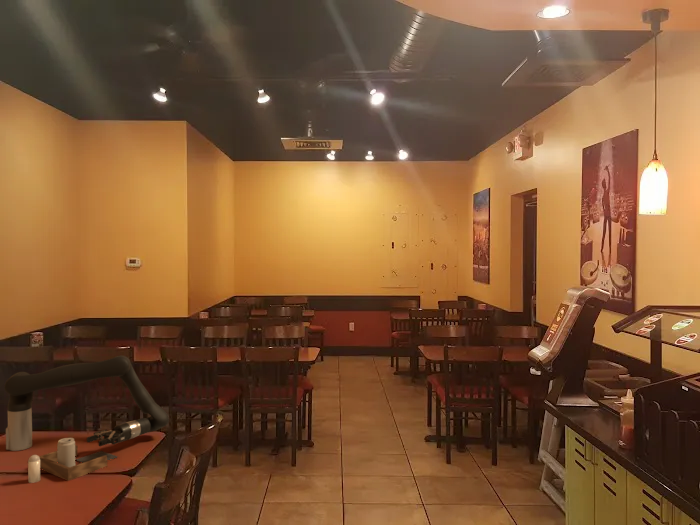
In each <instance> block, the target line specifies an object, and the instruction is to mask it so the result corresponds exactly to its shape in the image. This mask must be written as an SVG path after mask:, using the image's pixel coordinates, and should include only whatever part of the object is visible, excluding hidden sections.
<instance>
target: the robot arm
mask: <svg viewBox="0 0 700 525" xmlns="http://www.w3.org/2000/svg"><path fill="white" fill-rule="evenodd" d="M113 377H119V379H121V380H122V381H123V383H124V384H125V386H126V387H127V389H128V390H129V393H130V394H131V397H132V399H133V401H134V402H135V404H136V405H137V407H138V408H139V410H140V412H142V414H145V415H147V414H148V415H150V416H148V417H146V418H145V417H141V418H138V419H134V420H131V421H126V422H124V423H120V424H116V425H115V426H114V427H113V429H112V430H111V429H110V430H108V429H105V428H104V429H102V430H99V431H96V432H93V435H90V436H87V437H86V442H87V443H91V442H94V441H98V442H97V443H98V447H102V446H106V445H112V446H113V445H117V444H119V443H123V442H125V441H129V440H132V439H134V438H136V437H138V436H142V435H145V434H147V433H152V432H156V431H158V430H160V429H162V428H164V427H166V426H168V424H169V422H170V421H169V420H170V417H169V415H168V413H167V412H166V410H165V409H163V407H161V406H160V405H159V404H157V402H156V401H155V399H154V398H153V397H152V395H151V394H150V393H149V391H148V390H147V389H146V387H145V386H144V384H143V383H142V381H141V380H140V378H139V376H138V374H137V373H136V371H135V369H134V367H133V364H132V362H131V359H130V358H129V357H128V356H126V355H123V354H121V355H116V356H114V357H112V358H109V359H106V360H101V361H97V362H96V361H95V362H79V363H72V364H66V365H65V364H64V365H60V366H58V367H54V368H51V369H48V370H46V371H41V372H39V373H33V374H30V373H29V372H26V371H19V372H16V373H14V374H13V375H11V376H10V377H9V378H8V379H7V380H6V381H5V383H4V390H5V392H6V394H9V400H8V404H7V427H6V428H5V450H6V451H13V452H15V451H22V450H23V451H24V450H26V449H29V448H32V446H33V416H32V415H33V414H32V412H33V410H32V409H33V408H32V404H33V399H34V392H36V391H40V390H48V389H54V388H55V389H56V388H61V387H62V388H63V387H67V386H74V385H79V384H82V383H86V382H90V381H93V380H97V379H103V378H113Z"/></svg>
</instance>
